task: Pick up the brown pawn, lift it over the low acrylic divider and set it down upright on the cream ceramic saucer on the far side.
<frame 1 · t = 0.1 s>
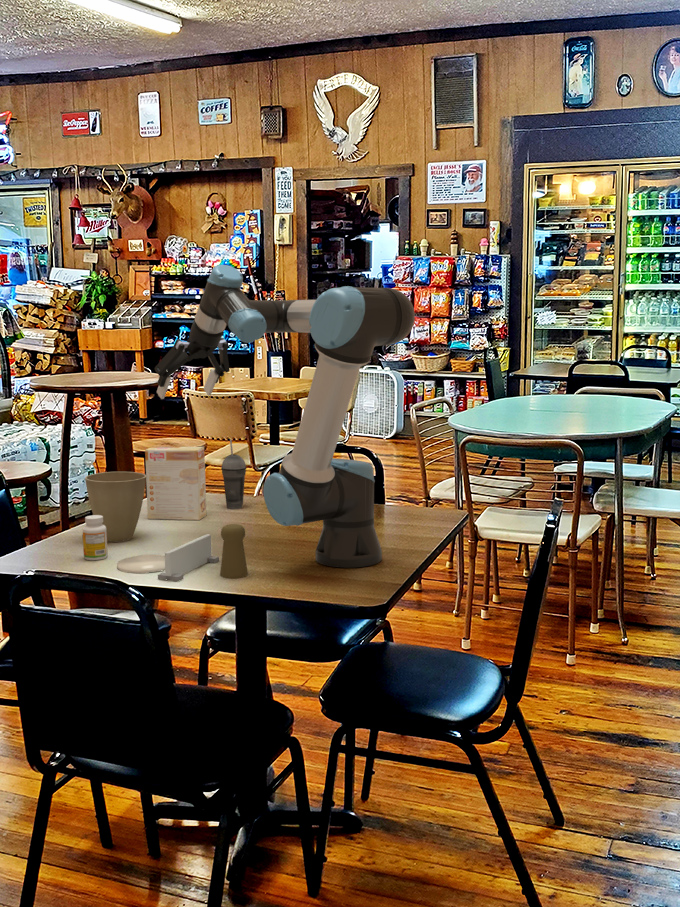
hand: (183, 393, 242), 36 cm above the table, tool tilted 35°, fingers open, 13 cm apart
plant pot: (118, 539, 242), on the table
beverage cup: (234, 508, 279), on the table
supplement bottle: (95, 558, 224), on the table
coffeecake box: (177, 518, 267), on the table
acrylic divider: (189, 569, 212), on the table
ceramic saucer: (146, 565, 216), on the table
brown pawn: (234, 575, 209), on the table
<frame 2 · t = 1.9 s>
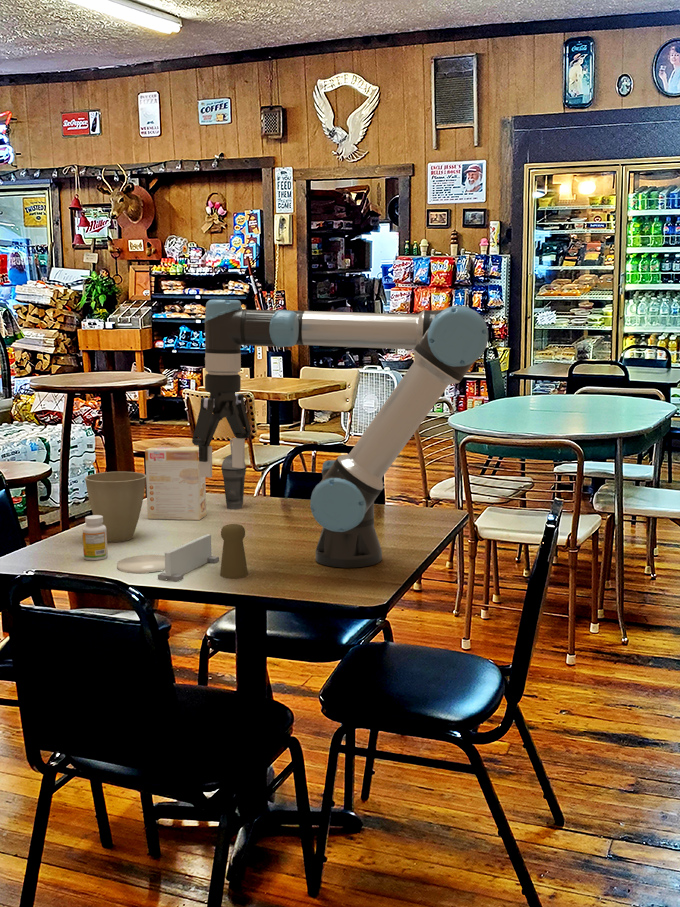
hand: (222, 472, 207), 22 cm above the table, tool pointing down, fingers open, 13 cm apart
nothing on the table moved.
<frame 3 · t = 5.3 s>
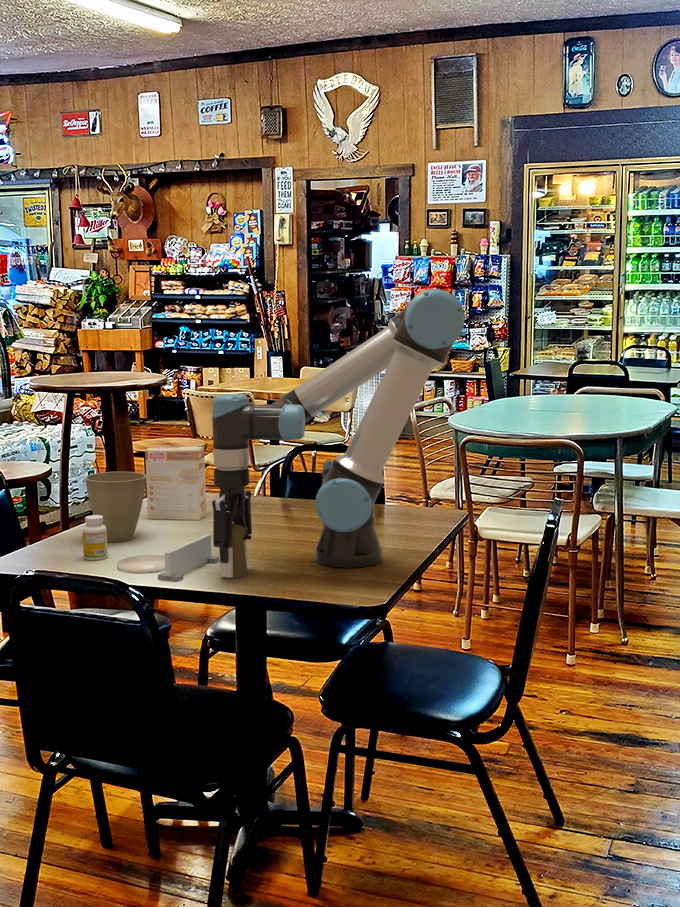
hand: (233, 572, 208), 0 cm above the table, tool pointing down, fingers closed on brown pawn, 6 cm apart
brown pawn: (234, 575, 209), on the table, touching gripper
everything else where it was.
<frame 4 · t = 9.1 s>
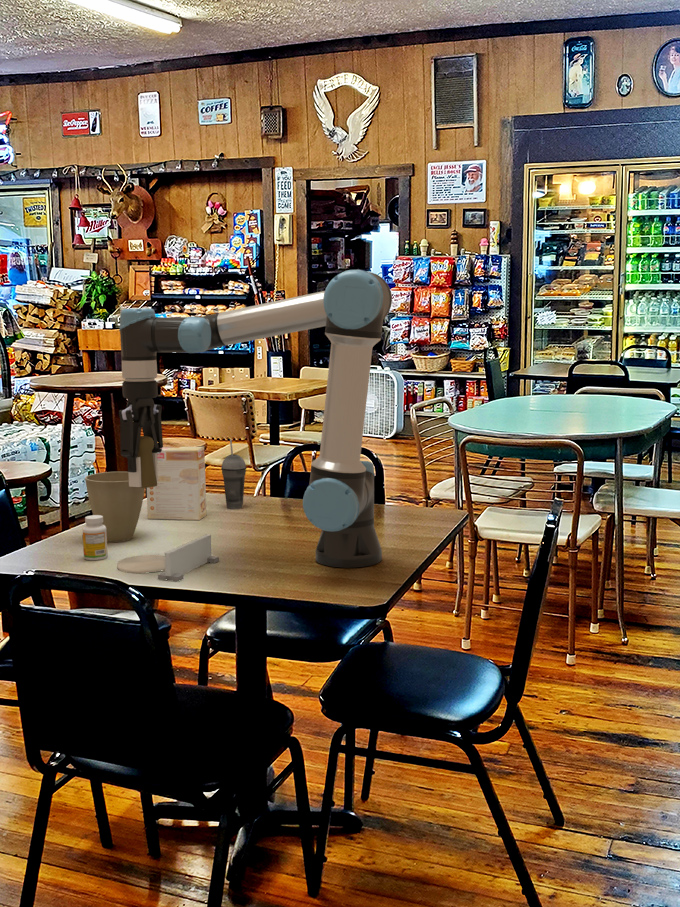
hand: (143, 483, 214), 19 cm above the table, tool pointing down, fingers closed on brown pawn, 6 cm apart
brown pawn: (143, 486, 214), point 18 cm above the table, touching gripper
everything else where it was.
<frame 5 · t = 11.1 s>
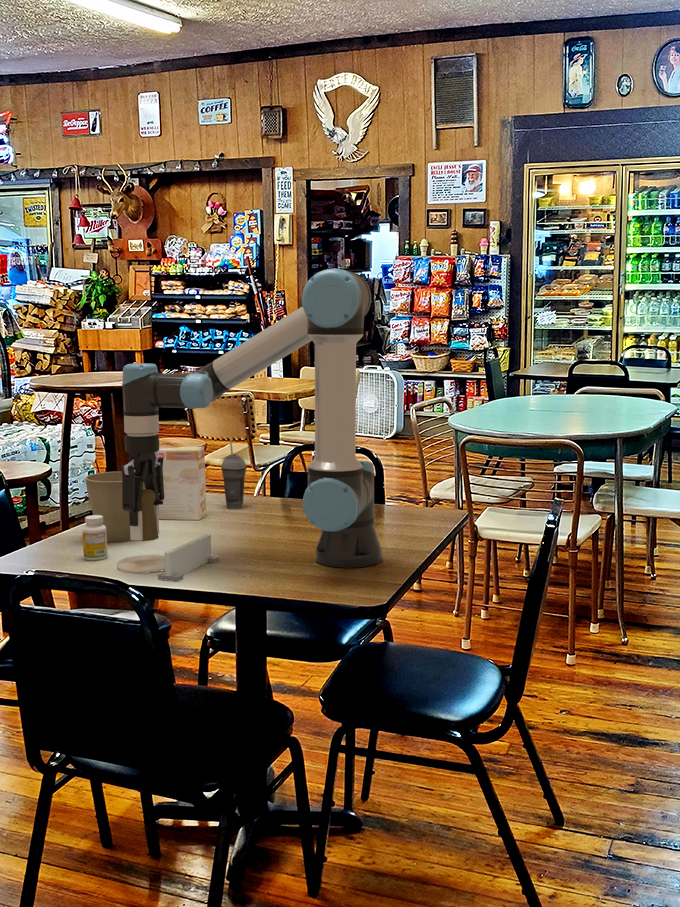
hand: (145, 536, 215), 7 cm above the table, tool pointing down, fingers closed on brown pawn, 6 cm apart
brown pawn: (144, 538, 216), point 6 cm above the table, touching gripper
everything else where it was.
when the fingers open (2 cm above the table, at t = 12.8 s): brown pawn drops 1 cm, resting on ceramic saucer.
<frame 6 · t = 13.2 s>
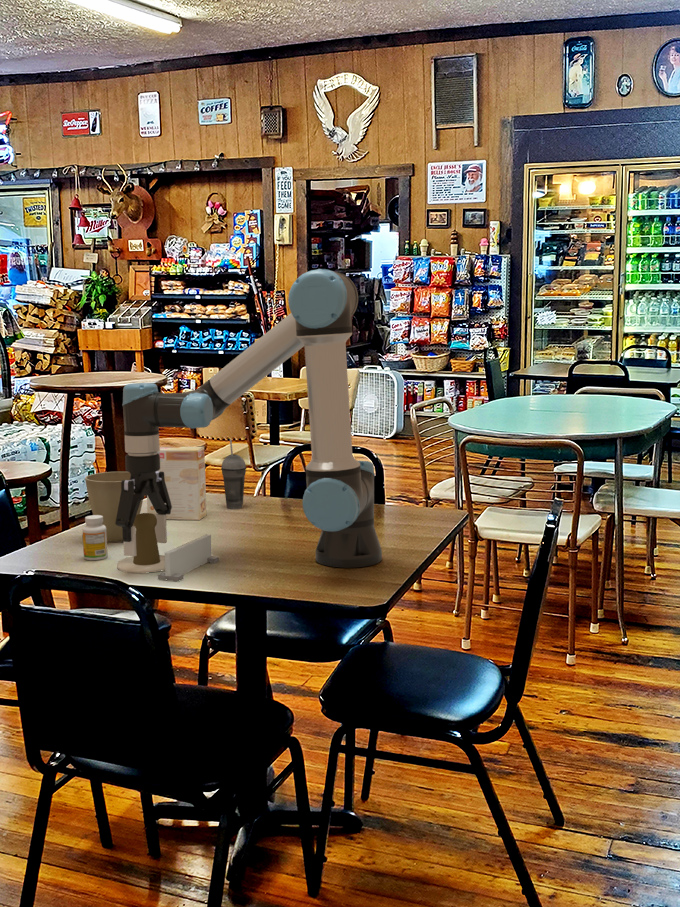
hand: (146, 548, 216), 4 cm above the table, tool pointing down, fingers open, 12 cm apart
brown pawn: (146, 562, 216), point 1 cm above the table, touching ceramic saucer
everything else where it was.
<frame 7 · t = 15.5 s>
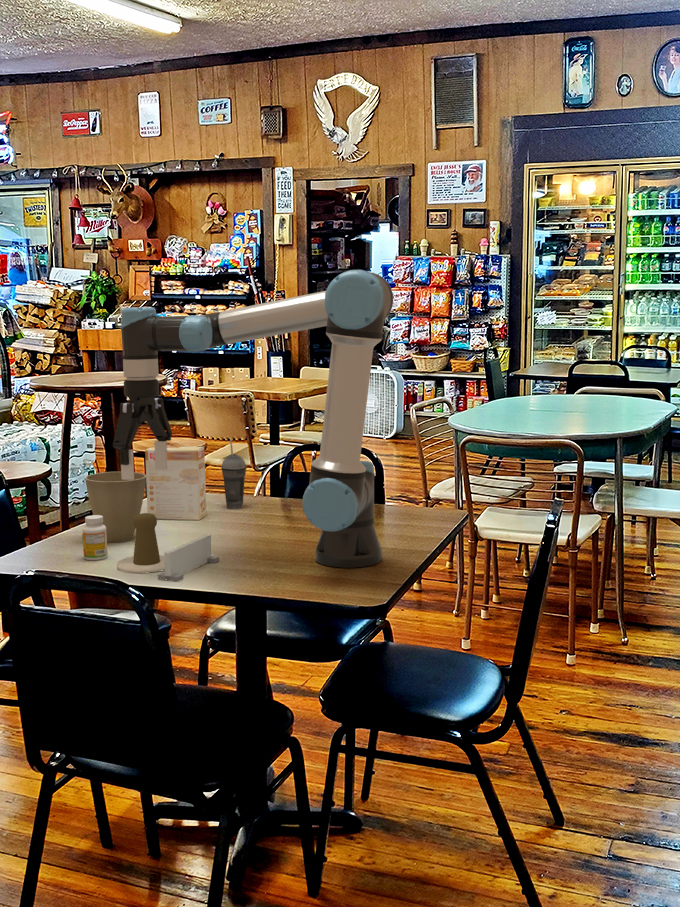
hand: (145, 474, 213), 21 cm above the table, tool pointing down, fingers open, 13 cm apart
nothing on the table moved.
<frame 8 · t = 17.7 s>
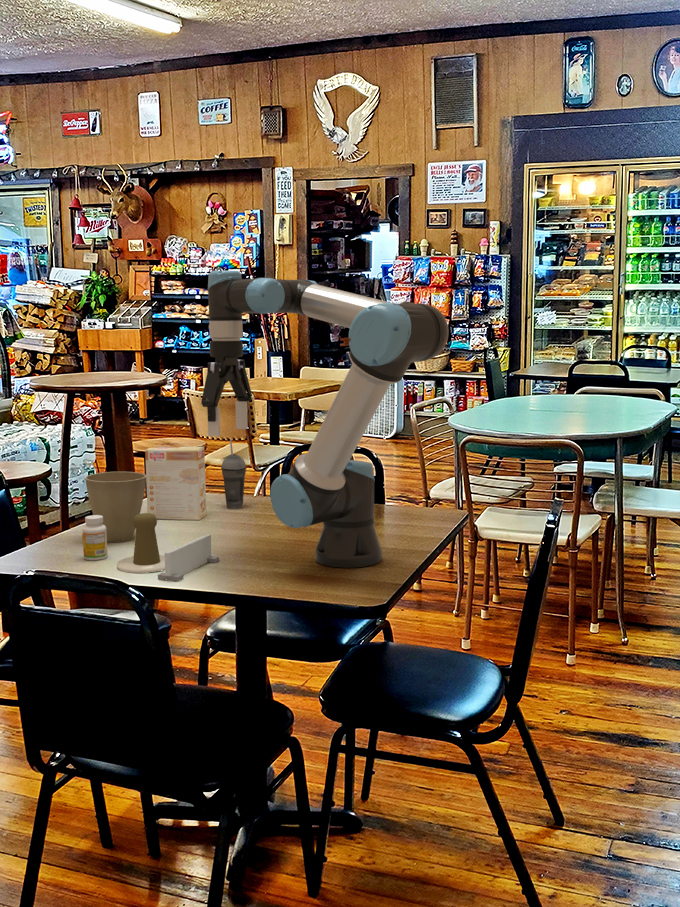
hand: (228, 432, 222), 29 cm above the table, tool pointing down, fingers open, 13 cm apart
nothing on the table moved.
at the end: brown pawn inside the target area on the ceramic saucer (0.1 cm from its centre), point 0.6 cm above the ceramic saucer's base; brown pawn tilted 0°; the gripper is holding nothing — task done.
